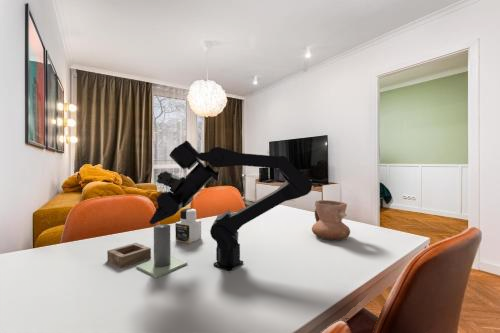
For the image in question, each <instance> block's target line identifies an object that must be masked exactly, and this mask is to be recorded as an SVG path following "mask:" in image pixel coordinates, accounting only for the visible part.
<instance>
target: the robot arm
mask: <svg viewBox="0 0 500 333" xmlns="http://www.w3.org/2000/svg"><path fill="white" fill-rule="evenodd" d="M169 157H170V158H171V159H172V160H173V161H174V162H175V164H177V165H178V166H179V167H180V168H181V169H182V170H183V171H184V170H186V169H187V170H188V171H189V172H188V173H187V174H186V176H181V177H180V176H177V175H176V174H173V173H172V172H168V171H167V170H164V171H160V173H159V174H157V176H156V178H157V180H156V183H157V184H161V185H164V186H166V187H169V191H162V192H161V193H160V194H159V195H157V197H156V203H157V208H156V210H155V211H154V213H153V215H152V217H151V218H150V220H149V224H151V225H153V226H154V225H155V224H157V223H159V222H161V221H164V220H166V219H168V218H172V217H173V216H175V215H176V214H177V213H179V212H180V211H181V210H182V209H184V208H185V207H187V205H189V204H190V203H191V202H192V201H193V200H194V197H195V195H197V194H198V193H199V192H200V191H202V189H203V187H205V186H206V184H208V182H209V181H211V179H214V180H215V181H216V182H218V181H219V180H220V171H219V170H217V171H216V170H215V169H214V168H213V167H215V168H226V167H236V166H243V167H245V166H246V167H254V168H257V167H259V168H267V169H268V168H269V169H277V170H278V171H279V173H280V174H281V176H282V177H283V178H284V180H285V181H284V182H283V183H282V184H281V185H280V186H279V187H278V188H277V189H276V190H274V191H271V192H270V193H268V194H266V195H264V196H263V197H261V198H259V199H258V200H256V201H254V202H252V203H250V204H249V205H246V206H245V207H244V208H242V209H239V210H238V211H236V212H232V213H231V211H230V209H227V210H226V211H225V212H224V213H221V214H218V215H217V216H216V218H215V219H214V221H213V223H212V225H211V226H210V231H209V232H210V237H211V238H212V239H213V240H214V241H215V242H216V250H215V251H216V255H215V256H216V257H215V258H216V260H215V262H213V264H212V265H213V266H214V267H217V268H220V269H224V270H226V271H229V272H230V271H232V270H234V269H236V268H237V267H240V266H241V265H242V264H244V261H243V260H241V243H239V230H240V229H241V227H243V226H244V225H245V224H247V223H249V222H251V221H253V220H254V219H256V218H258V217H260V216H261V215H264V214H265V213H267V212H268V211H271V210H272V209H274V208H276V207H277V206H279V205H281V204H282V203H284V202H286V201H287V202H288V201H291V200H292V201H293V200H296V199H299V198H302V197H304V196H307V195H309V194H310V193H311V191H312V188H313V183H312V180H311V179H310V178H309V177H308V176H307V175H306V176H305V175H302V173H301V172H300V170H298V169H297V168H296V167H295V165H294V164H292V163H291V162H290V160H289V158H288V157H287V156H284V155H279V156H278V155H277V156H276V155H266V154H255V153H245V152H244V153H242V152H238V151H234V150H231V149H227V148H223V147H218V146H215V147H213V148H211V149H210V150H209V151H206V152H199V151H198V150H197V149H196V148H194V147H193V146H192V144H191V142H190V141H188V140H185V141H184V142H182V143H180V144H178V146H176V147H174V148H173V149H172V150H171V152H170V153H169ZM202 161H203V162H207V163H209V164H207V165H205V164H204V163H203V162H202ZM192 168H193V169H192Z"/></svg>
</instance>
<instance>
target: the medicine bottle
mask: <svg viewBox="0 0 500 333" xmlns="http://www.w3.org/2000/svg"><path fill="white" fill-rule="evenodd" d="M179 212H180V216H179V218H180V221H176V222H175V227H174V228H175V229H174V230H175V241H176V242H180V243H186V244H191V243H193V242H196V241H198V240H200V239H202V220H201V219H200V220H199V219H197V210H196V209H195V208H192V207H191V208H190V207H189V208H182V209H180V210H179Z"/></svg>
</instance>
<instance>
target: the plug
mask: <svg viewBox="0 0 500 333" xmlns="http://www.w3.org/2000/svg"><path fill="white" fill-rule="evenodd" d="M171 256H172V255H171V225H170V224H165V223H163V224H157V225H153V260H154V266H155V267H166V266H168V265H170V263H171Z"/></svg>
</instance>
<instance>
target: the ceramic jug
mask: <svg viewBox="0 0 500 333" xmlns="http://www.w3.org/2000/svg"><path fill="white" fill-rule="evenodd" d="M314 207H315V209H314V219H315V222H314V224H313V225H312V226H311V231H312V233H313V234H314V235H315V236H316V237H318V238H320V239H322V240H326V241H341V240H346V239H347V238H348V237H349V236H350V235H351V229H350V227H349V226H348V225H346V224H345V223H344V222H343V221H342V220H343V218H345V217H347V215H348V214H347V213H346V210H347V208H348V203H347V202H345V201H335V200H324V199H321V200H320V199H319V200H315V201H314Z"/></svg>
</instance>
